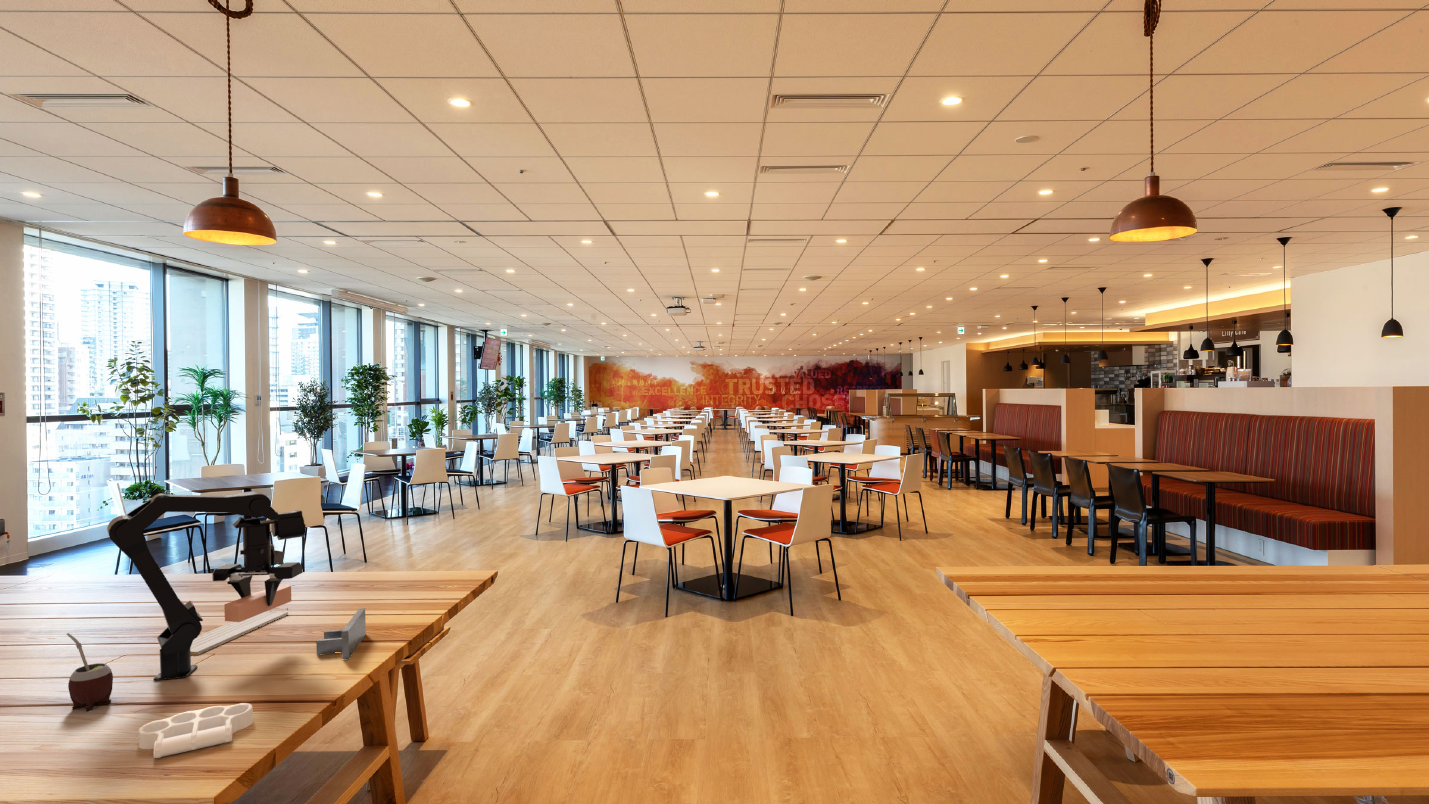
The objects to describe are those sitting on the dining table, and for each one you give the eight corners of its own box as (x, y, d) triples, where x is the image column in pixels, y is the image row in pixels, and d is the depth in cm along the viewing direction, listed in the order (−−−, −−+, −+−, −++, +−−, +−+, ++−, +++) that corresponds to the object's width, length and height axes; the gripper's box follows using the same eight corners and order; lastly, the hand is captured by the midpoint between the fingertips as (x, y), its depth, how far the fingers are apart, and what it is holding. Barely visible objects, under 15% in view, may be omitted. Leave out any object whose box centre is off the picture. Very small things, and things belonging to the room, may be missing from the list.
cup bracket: (349, 659, 177) (348, 631, 177) (310, 663, 175) (309, 634, 175) (365, 634, 195) (365, 608, 194) (330, 637, 193) (330, 611, 192)
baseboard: (155, 655, 183) (197, 657, 181) (155, 643, 183) (197, 646, 181) (251, 615, 213) (288, 616, 212) (251, 605, 213) (288, 606, 212)
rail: (239, 622, 172) (238, 605, 172) (224, 621, 173) (224, 604, 173) (291, 601, 188) (291, 585, 188) (278, 600, 189) (277, 585, 188)
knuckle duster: (131, 769, 129) (143, 734, 141) (252, 741, 138) (253, 711, 151) (130, 750, 129) (142, 717, 141) (251, 724, 138) (253, 695, 151)
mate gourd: (109, 708, 152) (106, 636, 152) (59, 717, 148) (56, 644, 148) (117, 694, 159) (114, 626, 158) (69, 703, 155) (66, 632, 154)
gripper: (312, 535, 188) (314, 594, 189) (237, 537, 187) (239, 597, 188) (289, 545, 177) (292, 608, 178) (209, 547, 176) (212, 611, 177)
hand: (259, 606), depth 180 cm, fingers closed on rail, 5 cm apart
